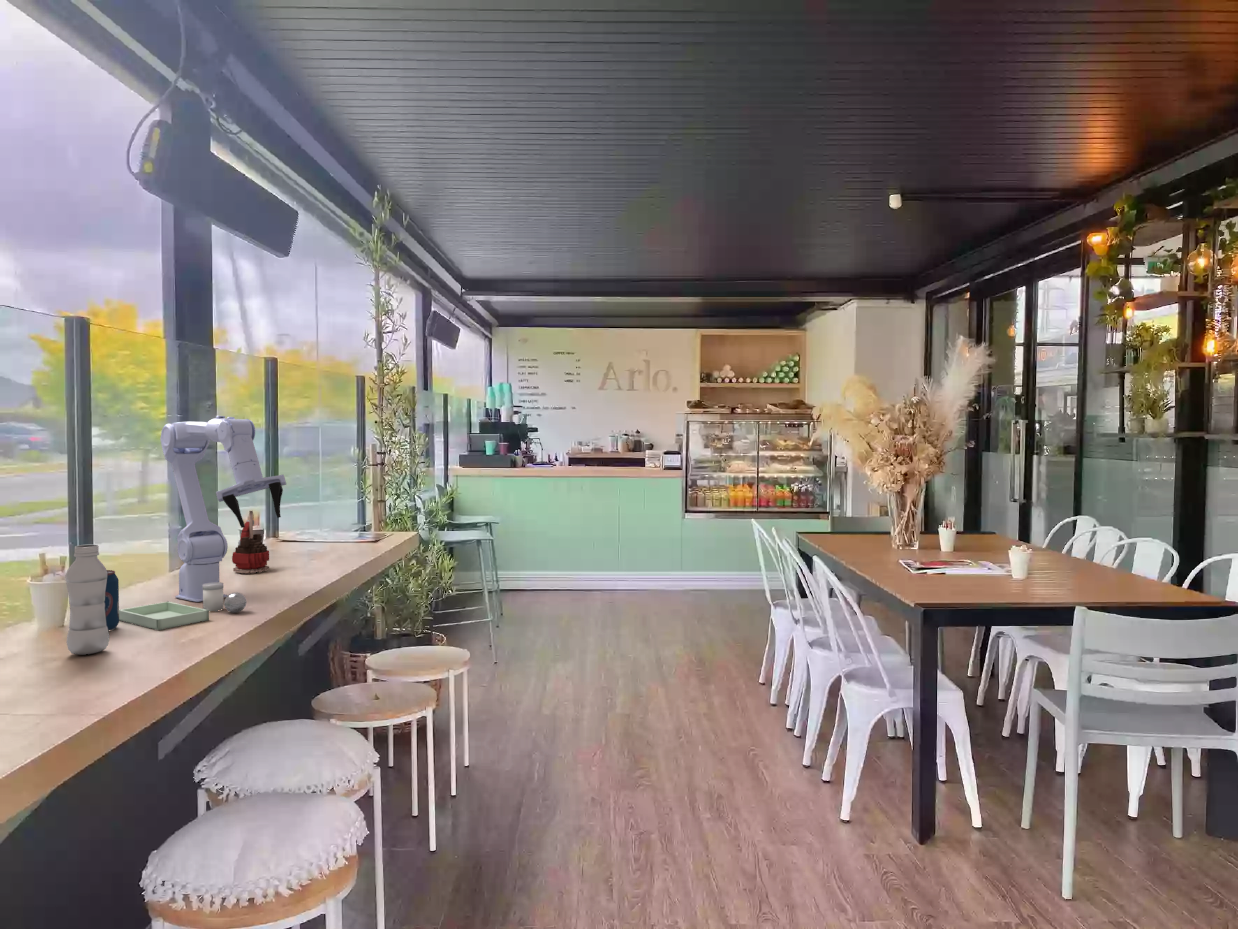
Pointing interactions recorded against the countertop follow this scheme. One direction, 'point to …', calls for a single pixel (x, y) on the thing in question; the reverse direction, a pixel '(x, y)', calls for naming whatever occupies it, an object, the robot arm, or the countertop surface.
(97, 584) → the plastic bottle
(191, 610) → the tray
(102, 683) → the countertop surface
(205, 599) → the shaker
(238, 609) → the ball
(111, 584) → the soda can
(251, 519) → the cake
